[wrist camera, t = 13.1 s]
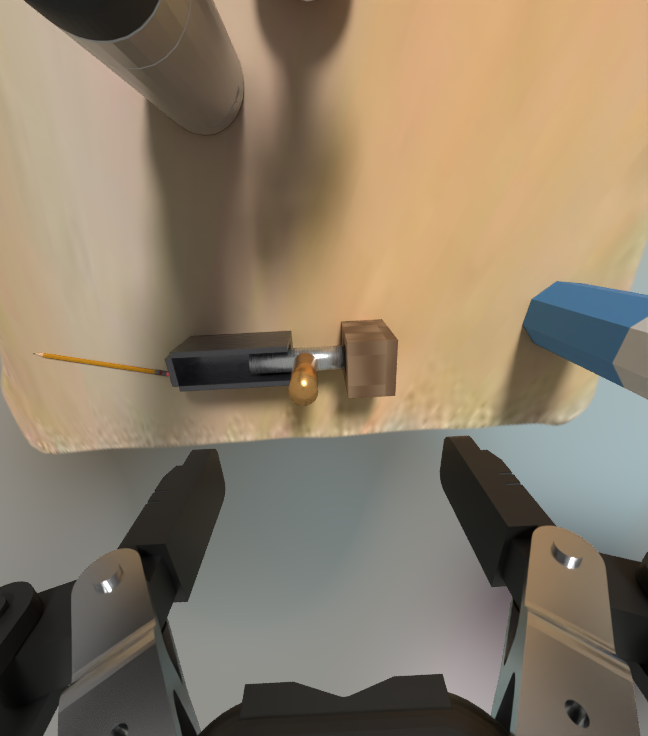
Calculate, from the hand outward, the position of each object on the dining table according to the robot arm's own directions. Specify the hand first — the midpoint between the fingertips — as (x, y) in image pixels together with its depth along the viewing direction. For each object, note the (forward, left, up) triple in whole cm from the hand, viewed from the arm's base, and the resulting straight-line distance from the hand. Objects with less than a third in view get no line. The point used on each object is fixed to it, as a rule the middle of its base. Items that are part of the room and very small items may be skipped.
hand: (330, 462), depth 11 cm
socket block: (+9, -1, -32) cm, 33 cm away
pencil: (-17, -28, -33) cm, 46 cm away
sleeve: (-3, -13, -32) cm, 35 cm away
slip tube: (+4, -6, -29) cm, 30 cm away
